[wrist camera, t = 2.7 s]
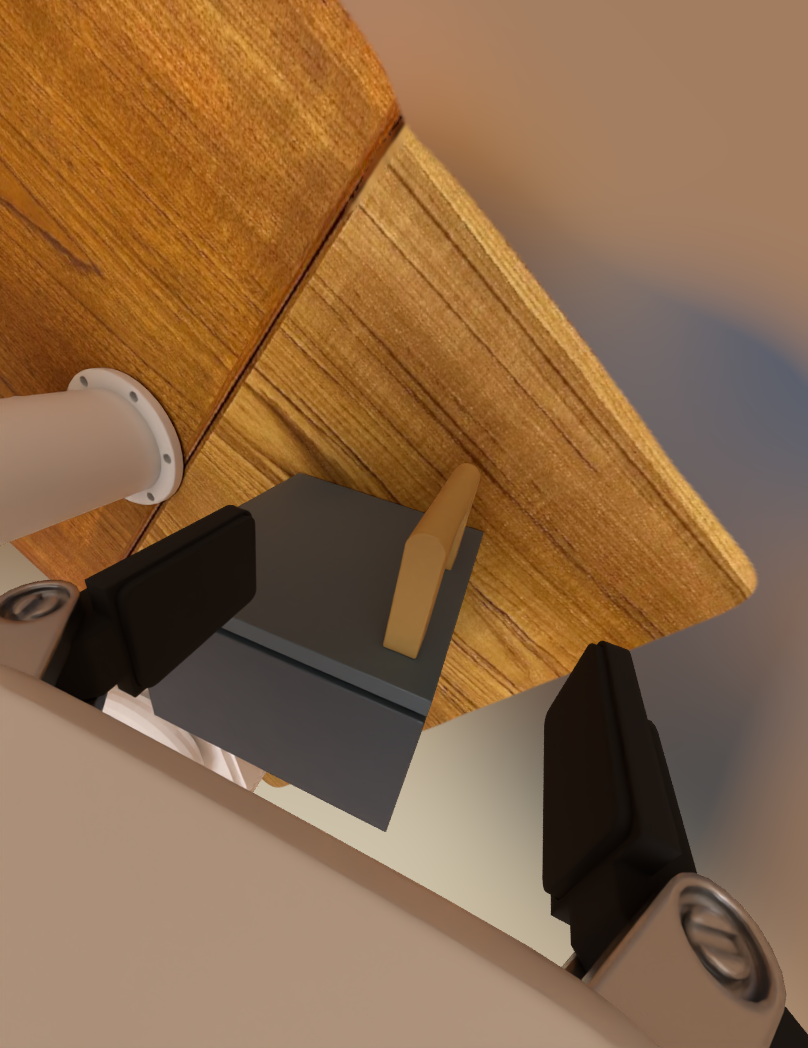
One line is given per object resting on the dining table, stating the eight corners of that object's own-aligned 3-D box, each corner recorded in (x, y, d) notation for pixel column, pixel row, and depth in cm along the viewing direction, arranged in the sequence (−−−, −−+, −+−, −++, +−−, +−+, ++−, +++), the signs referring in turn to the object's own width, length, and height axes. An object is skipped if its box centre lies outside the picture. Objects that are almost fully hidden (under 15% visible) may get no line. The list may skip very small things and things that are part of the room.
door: (303, 394, 28) (91, 443, 15) (511, 451, 25) (476, 577, 12) (299, 483, 31) (125, 586, 18) (480, 543, 28) (426, 717, 15)
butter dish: (291, 731, 49) (195, 882, 35) (185, 698, 54) (67, 818, 41) (263, 625, 41) (126, 765, 28) (143, 600, 47) (-20, 706, 33)
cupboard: (299, 485, 32) (123, 592, 18) (479, 544, 29) (424, 724, 15) (295, 577, 36) (153, 715, 23) (447, 636, 33) (385, 832, 20)
